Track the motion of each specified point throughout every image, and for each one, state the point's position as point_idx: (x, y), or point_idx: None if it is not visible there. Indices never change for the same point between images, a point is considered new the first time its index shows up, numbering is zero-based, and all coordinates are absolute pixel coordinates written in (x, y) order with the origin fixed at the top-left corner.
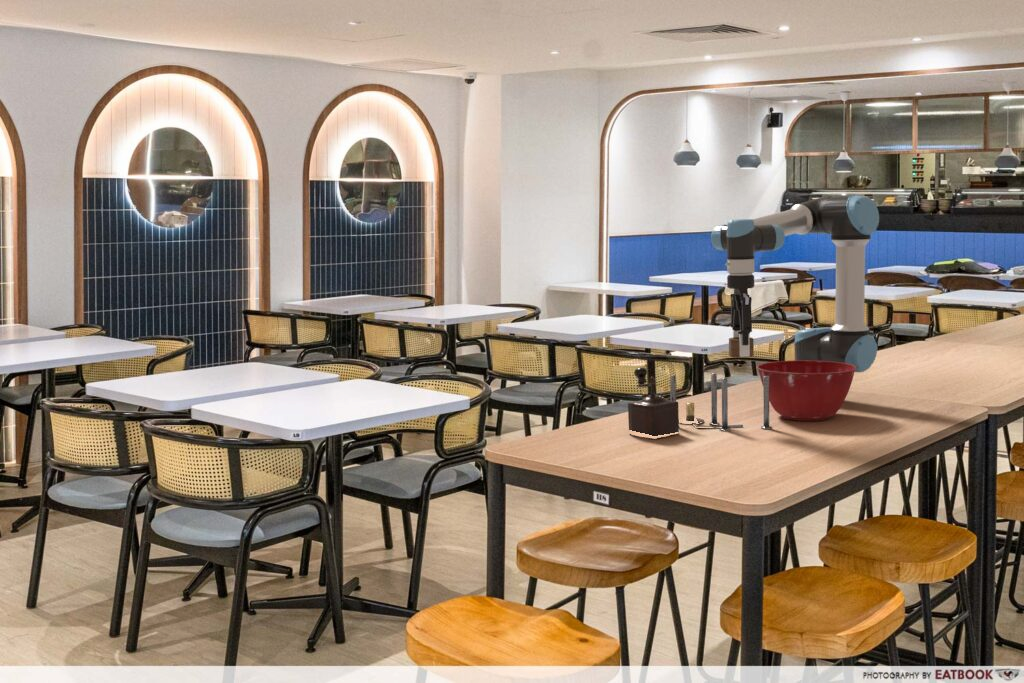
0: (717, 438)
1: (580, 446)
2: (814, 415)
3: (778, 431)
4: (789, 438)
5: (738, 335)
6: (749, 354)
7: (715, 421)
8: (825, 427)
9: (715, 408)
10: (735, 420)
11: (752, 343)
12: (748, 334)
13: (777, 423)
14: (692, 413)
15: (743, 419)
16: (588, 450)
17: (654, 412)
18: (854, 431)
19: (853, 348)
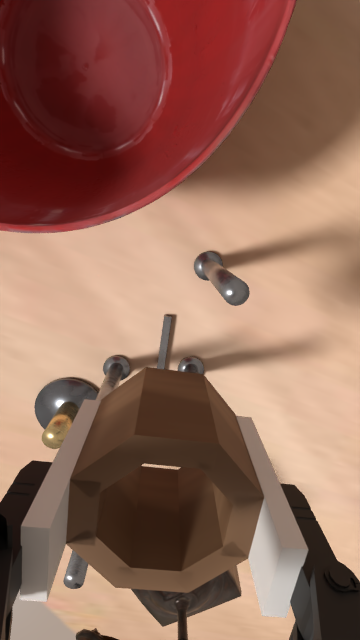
0: (266, 412)
1: (227, 629)
2: (186, 81)
3: (254, 252)
4: (340, 263)
5: (64, 523)
6: (254, 426)
7: (122, 371)
8: (259, 94)
9: (117, 387)
10: (78, 299)
11: (221, 429)
12: (303, 550)
13: (154, 207)
14: (73, 419)
15: (70, 273)
16: (263, 624)
17: (238, 579)
18: (347, 33)
19: None
